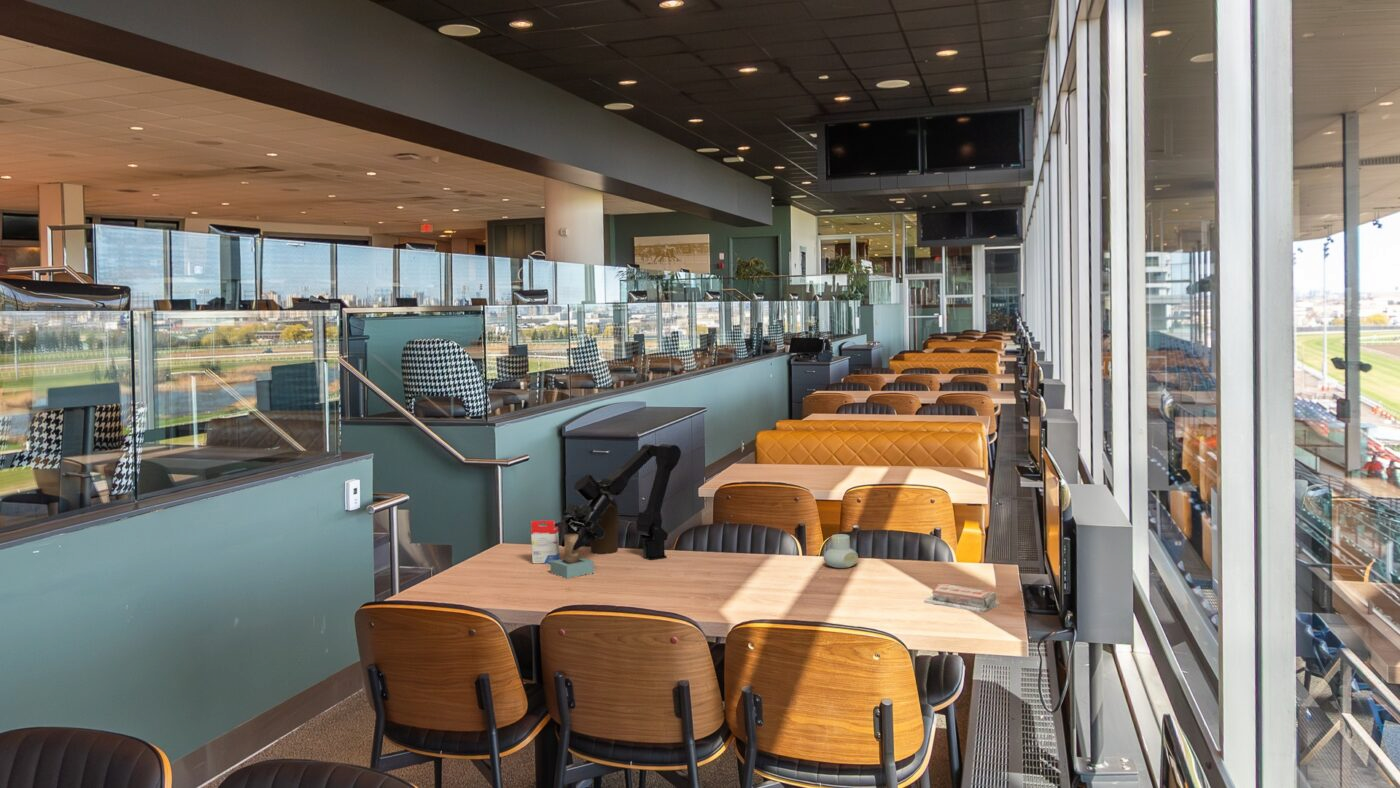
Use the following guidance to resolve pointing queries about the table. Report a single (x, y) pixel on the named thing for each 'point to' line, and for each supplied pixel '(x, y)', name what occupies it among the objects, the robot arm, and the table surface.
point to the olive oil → (607, 531)
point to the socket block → (572, 568)
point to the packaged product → (963, 598)
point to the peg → (571, 549)
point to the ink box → (544, 542)
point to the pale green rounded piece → (840, 552)
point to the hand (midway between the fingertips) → (567, 547)
